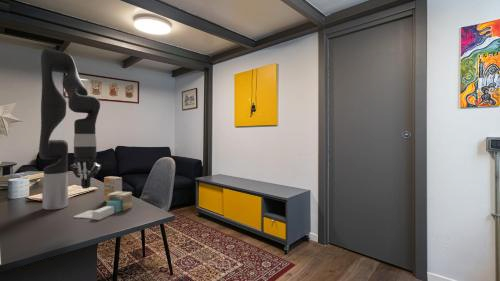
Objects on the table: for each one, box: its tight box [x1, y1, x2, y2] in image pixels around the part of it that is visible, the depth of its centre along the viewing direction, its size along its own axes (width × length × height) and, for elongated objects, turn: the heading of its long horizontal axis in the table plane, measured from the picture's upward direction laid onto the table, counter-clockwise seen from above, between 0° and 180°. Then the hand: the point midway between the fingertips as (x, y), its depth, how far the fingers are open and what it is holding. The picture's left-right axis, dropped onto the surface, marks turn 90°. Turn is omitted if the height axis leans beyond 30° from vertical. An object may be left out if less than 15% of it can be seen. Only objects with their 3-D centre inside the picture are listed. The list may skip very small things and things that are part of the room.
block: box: [106, 199, 122, 214], centre depth 116 cm, size 5×5×5 cm
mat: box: [72, 209, 94, 220], centre depth 110 cm, size 9×9×1 cm
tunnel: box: [108, 191, 133, 212], centre depth 119 cm, size 8×6×8 cm
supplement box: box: [103, 175, 123, 203], centre depth 131 cm, size 8×5×13 cm, turn 68°
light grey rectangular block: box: [92, 205, 115, 221], centre depth 108 cm, size 4×9×4 cm, turn 172°
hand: (86, 188), depth 98 cm, fingers closed
